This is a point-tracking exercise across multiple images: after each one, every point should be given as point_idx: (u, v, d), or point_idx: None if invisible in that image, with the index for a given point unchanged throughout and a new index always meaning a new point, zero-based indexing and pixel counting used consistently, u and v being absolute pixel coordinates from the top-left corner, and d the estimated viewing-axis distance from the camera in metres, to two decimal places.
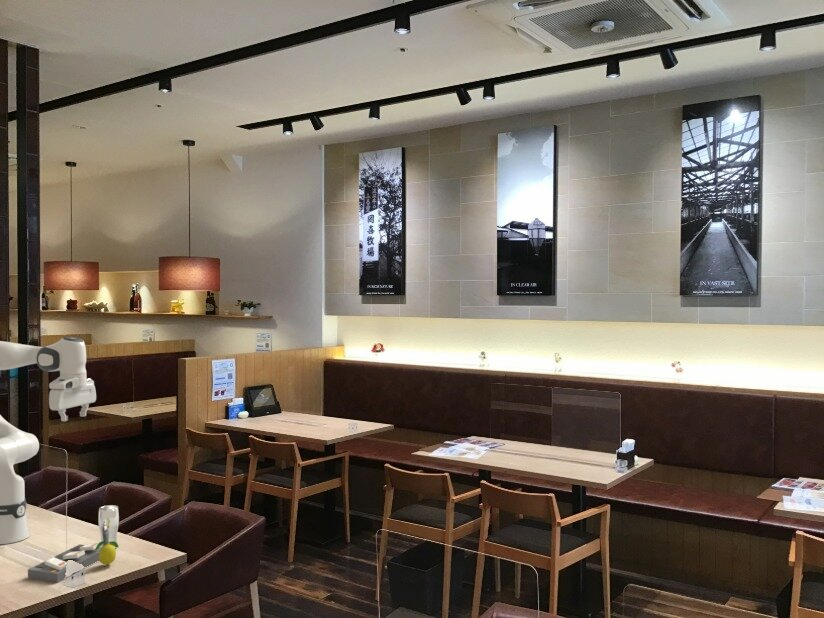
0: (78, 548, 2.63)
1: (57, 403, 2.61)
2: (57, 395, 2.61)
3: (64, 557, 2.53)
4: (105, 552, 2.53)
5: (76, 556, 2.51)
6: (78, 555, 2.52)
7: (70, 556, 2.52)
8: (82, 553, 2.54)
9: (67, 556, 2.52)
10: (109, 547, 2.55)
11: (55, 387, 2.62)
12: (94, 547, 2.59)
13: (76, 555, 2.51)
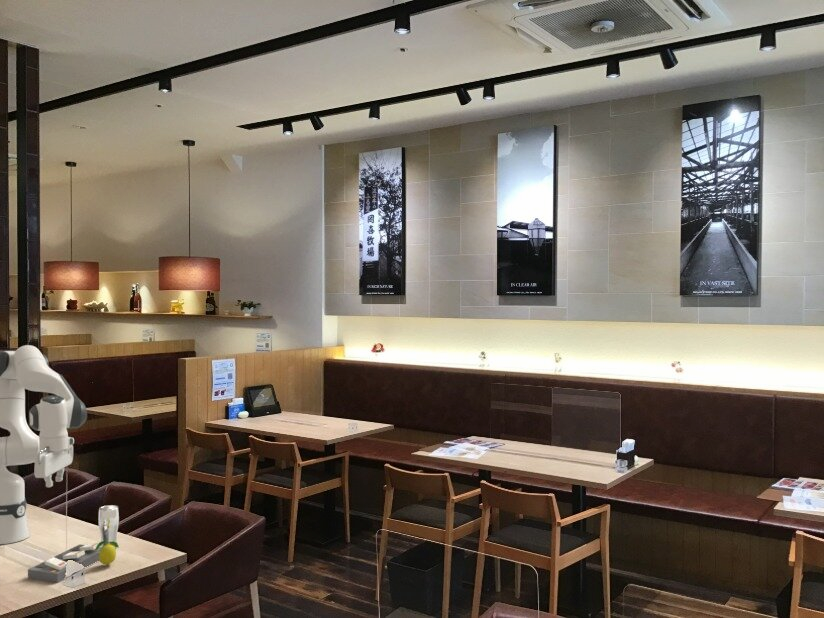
0: (78, 548, 2.63)
1: None
2: None
3: (64, 557, 2.53)
4: (105, 552, 2.53)
5: (76, 556, 2.51)
6: (78, 555, 2.52)
7: (70, 556, 2.52)
8: (82, 553, 2.54)
9: (67, 556, 2.52)
10: (109, 547, 2.55)
11: None
12: (94, 547, 2.59)
13: (76, 555, 2.51)
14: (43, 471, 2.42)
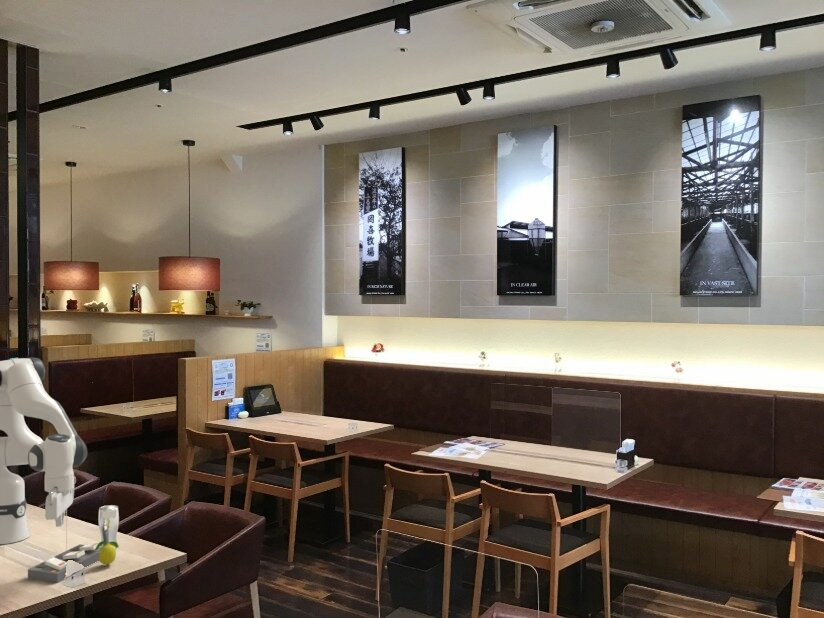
0: (78, 548, 2.63)
1: None
2: None
3: (64, 557, 2.53)
4: (105, 552, 2.53)
5: (76, 556, 2.51)
6: (78, 555, 2.52)
7: (70, 556, 2.52)
8: (82, 553, 2.54)
9: (67, 556, 2.52)
10: (109, 547, 2.55)
11: None
12: (94, 547, 2.59)
13: (76, 555, 2.51)
14: (55, 512, 2.36)
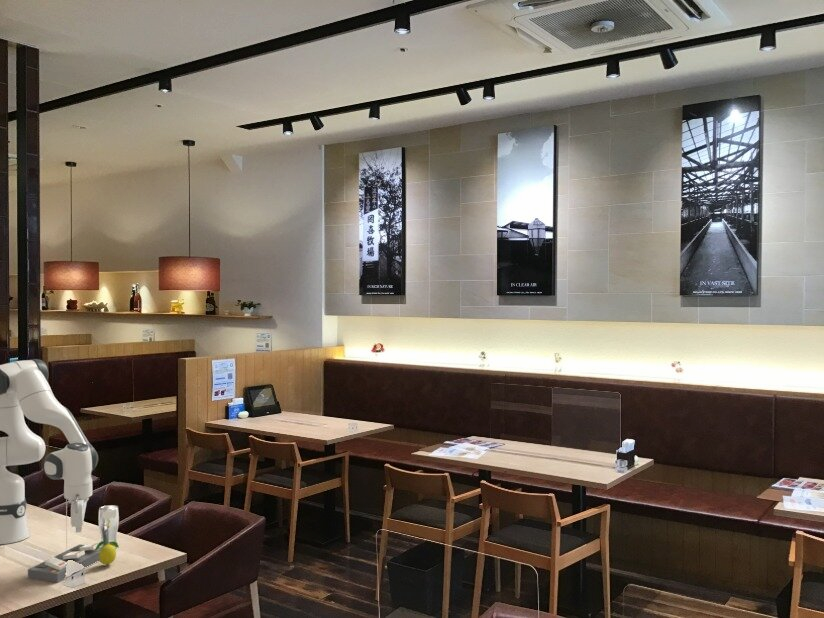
0: (78, 548, 2.63)
1: None
2: None
3: (64, 557, 2.53)
4: (105, 552, 2.53)
5: (76, 556, 2.51)
6: (78, 555, 2.52)
7: (70, 556, 2.52)
8: (82, 553, 2.54)
9: (67, 556, 2.52)
10: (109, 547, 2.55)
11: None
12: (94, 547, 2.59)
13: (76, 555, 2.51)
14: (81, 519, 2.44)
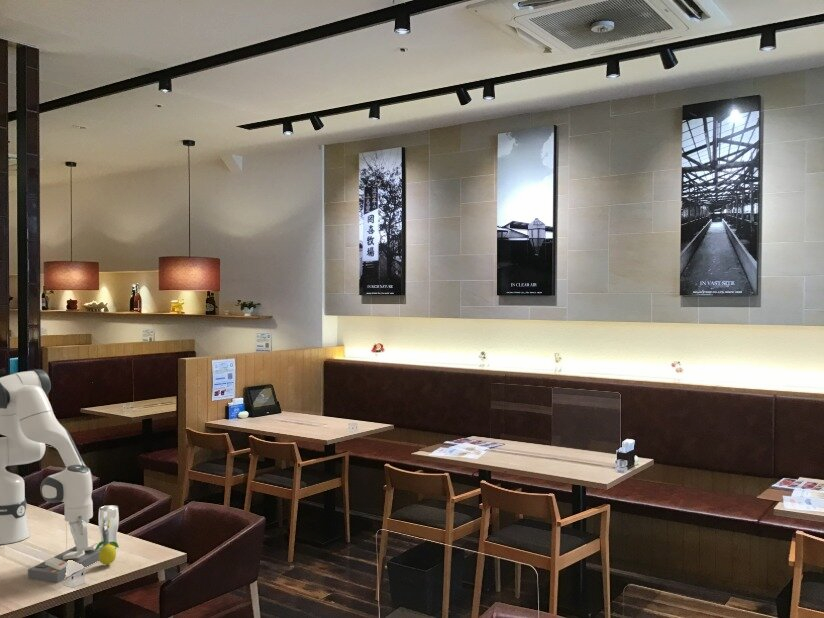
0: None
1: None
2: None
3: (64, 557, 2.53)
4: (105, 552, 2.53)
5: (76, 556, 2.51)
6: (78, 555, 2.52)
7: (70, 556, 2.52)
8: None
9: (67, 556, 2.52)
10: (109, 547, 2.55)
11: None
12: (94, 547, 2.59)
13: (76, 555, 2.51)
14: (86, 541, 2.45)
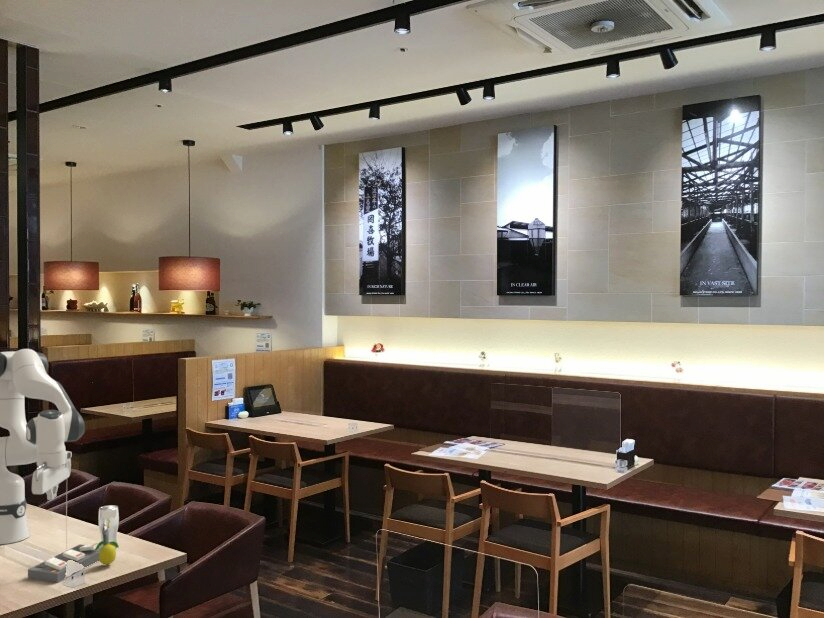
0: (78, 548, 2.63)
1: None
2: None
3: (64, 554, 2.53)
4: (105, 552, 2.53)
5: (76, 559, 2.51)
6: (78, 558, 2.52)
7: (70, 556, 2.52)
8: (82, 556, 2.54)
9: (67, 555, 2.52)
10: (109, 547, 2.55)
11: None
12: (94, 547, 2.59)
13: (76, 558, 2.51)
14: (40, 488, 2.40)
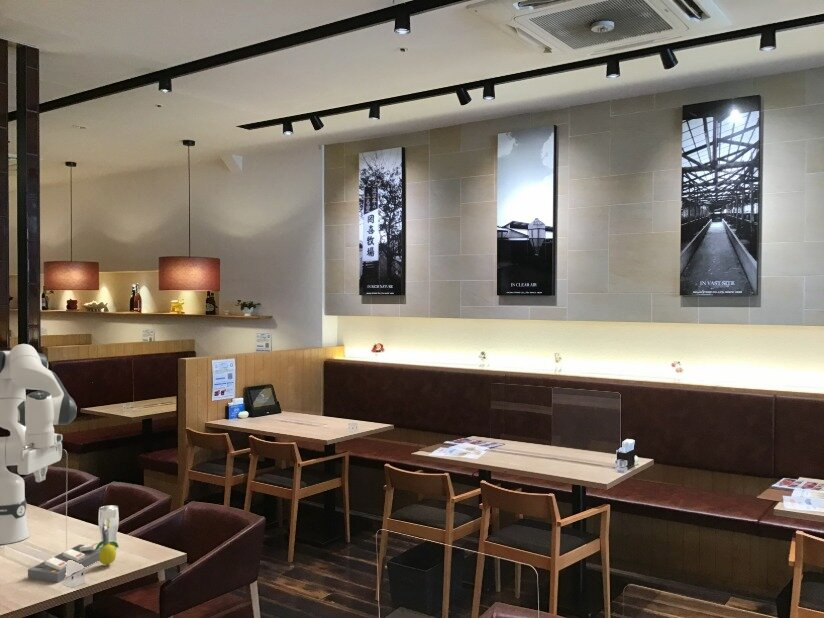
0: (78, 548, 2.63)
1: None
2: None
3: (64, 554, 2.53)
4: (105, 552, 2.53)
5: (76, 559, 2.52)
6: (78, 559, 2.52)
7: (70, 556, 2.52)
8: (82, 557, 2.54)
9: (67, 555, 2.52)
10: (109, 547, 2.55)
11: None
12: (94, 547, 2.59)
13: (76, 558, 2.51)
14: (25, 468, 2.39)
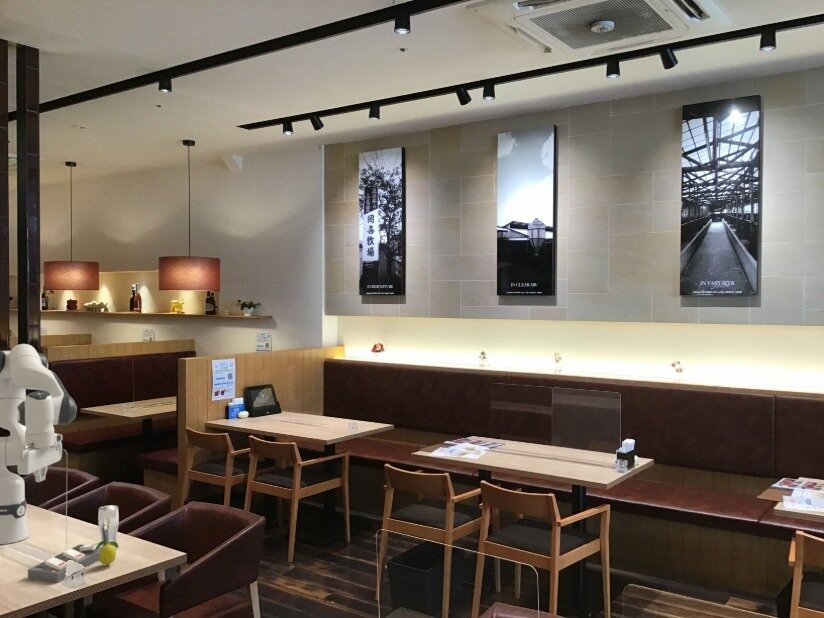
0: (78, 548, 2.63)
1: None
2: None
3: (64, 554, 2.53)
4: (105, 552, 2.53)
5: (76, 560, 2.52)
6: (78, 559, 2.52)
7: (70, 556, 2.52)
8: (82, 557, 2.54)
9: (67, 555, 2.52)
10: (109, 547, 2.55)
11: None
12: (94, 547, 2.59)
13: (76, 559, 2.52)
14: (25, 468, 2.39)
